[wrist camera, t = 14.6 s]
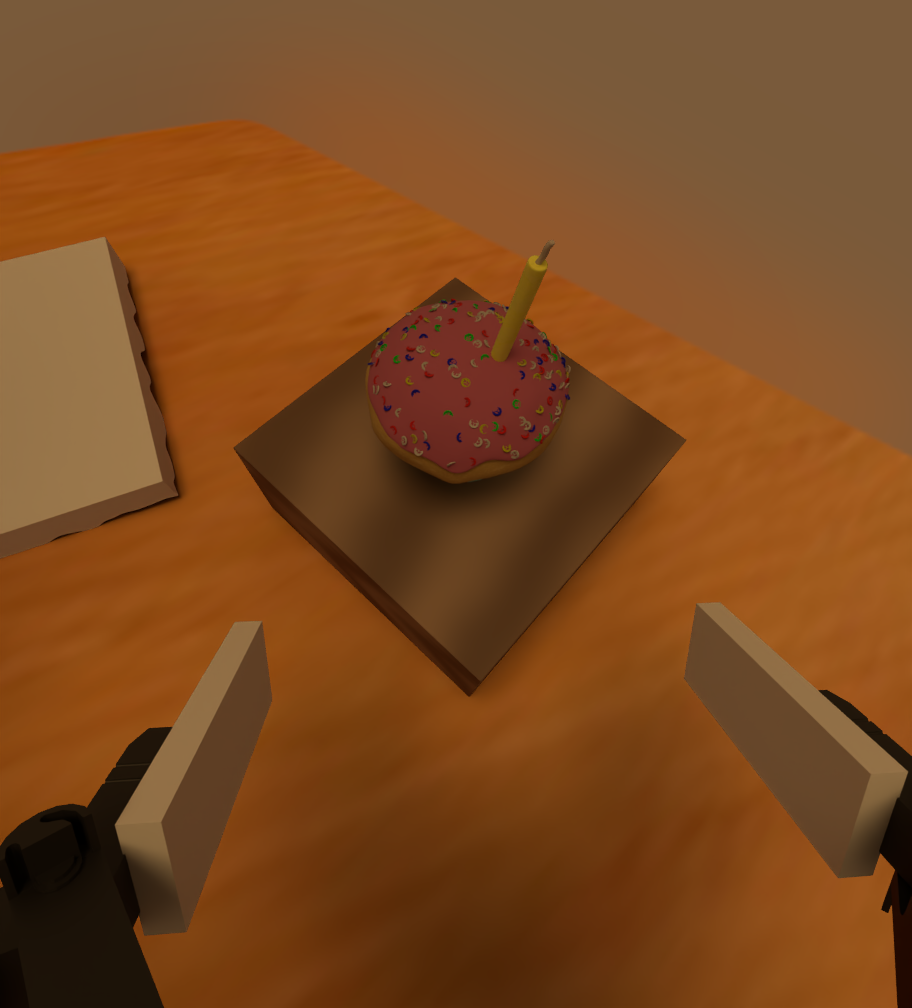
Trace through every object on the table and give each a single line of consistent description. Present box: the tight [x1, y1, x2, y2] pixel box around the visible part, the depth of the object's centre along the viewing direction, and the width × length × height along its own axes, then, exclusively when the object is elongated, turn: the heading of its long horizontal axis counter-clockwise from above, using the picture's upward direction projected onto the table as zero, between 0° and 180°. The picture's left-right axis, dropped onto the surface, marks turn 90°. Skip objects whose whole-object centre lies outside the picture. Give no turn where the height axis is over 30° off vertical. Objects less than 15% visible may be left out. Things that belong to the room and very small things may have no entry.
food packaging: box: [0, 237, 178, 558], centre depth 34 cm, size 15×3×20 cm
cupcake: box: [365, 240, 571, 484], centre depth 21 cm, size 9×8×12 cm
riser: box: [234, 278, 686, 696], centre depth 30 cm, size 16×16×7 cm
